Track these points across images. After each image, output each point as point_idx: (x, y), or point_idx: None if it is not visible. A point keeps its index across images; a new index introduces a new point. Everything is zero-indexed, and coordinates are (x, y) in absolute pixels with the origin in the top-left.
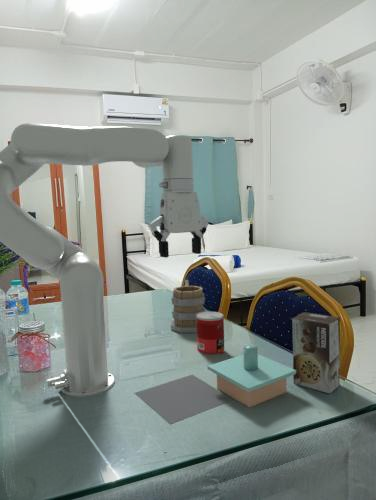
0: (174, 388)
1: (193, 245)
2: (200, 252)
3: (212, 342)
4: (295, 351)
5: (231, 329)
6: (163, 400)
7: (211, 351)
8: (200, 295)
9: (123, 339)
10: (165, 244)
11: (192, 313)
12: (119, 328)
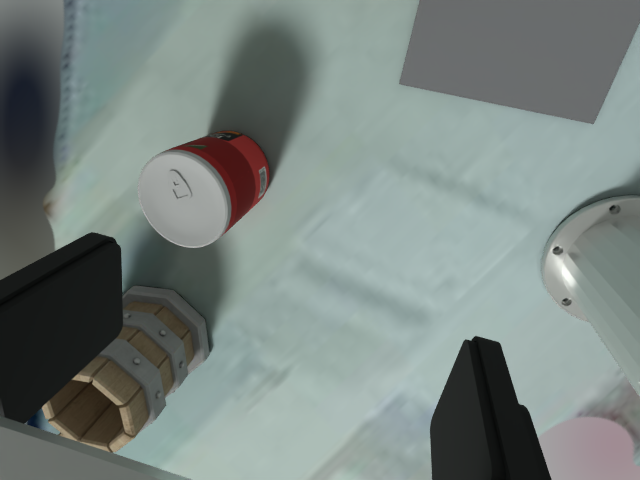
0: (504, 54)
1: (70, 354)
2: (95, 234)
3: (241, 148)
4: None
5: (86, 231)
6: (587, 18)
7: (254, 145)
8: None
9: (339, 401)
10: (527, 463)
11: (147, 330)
12: (295, 456)
